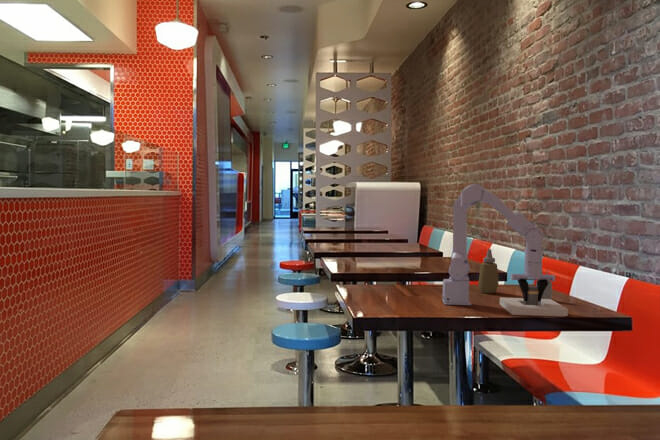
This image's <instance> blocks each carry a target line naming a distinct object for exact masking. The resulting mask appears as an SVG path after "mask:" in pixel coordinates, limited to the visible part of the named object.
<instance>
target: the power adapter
mask: <svg viewBox="0 0 660 440" xmlns="http://www.w3.org/2000/svg"><path fill="white" fill-rule="evenodd" d="M548 270H549V269H546V274H548ZM537 279H539V278H537ZM547 282H548V285H547V287H546V288H545V290H544V292H543V295H542V298H541V299H551V300H552V298H553V297H552V296H553V295H552V294H553V281H547ZM535 283H536V284H535V287H537V280H535Z"/></svg>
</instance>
